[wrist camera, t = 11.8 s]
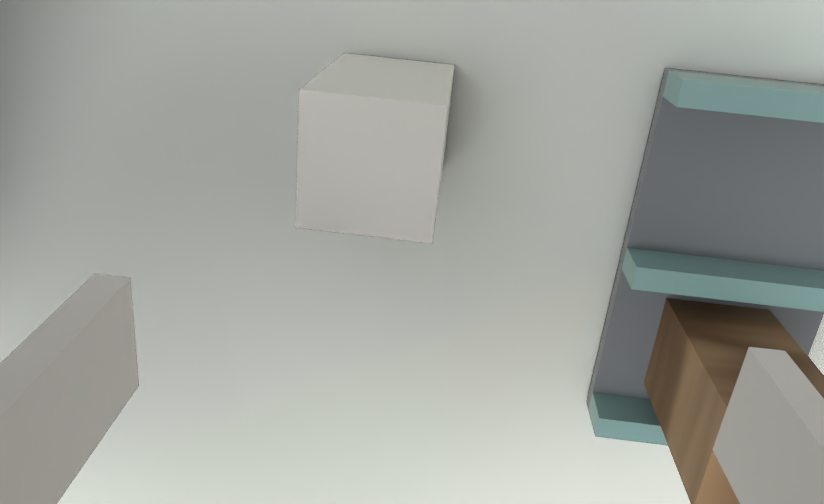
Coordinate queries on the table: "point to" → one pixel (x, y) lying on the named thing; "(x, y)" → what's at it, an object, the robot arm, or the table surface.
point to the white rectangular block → (373, 147)
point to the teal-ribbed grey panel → (715, 226)
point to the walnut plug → (708, 382)
